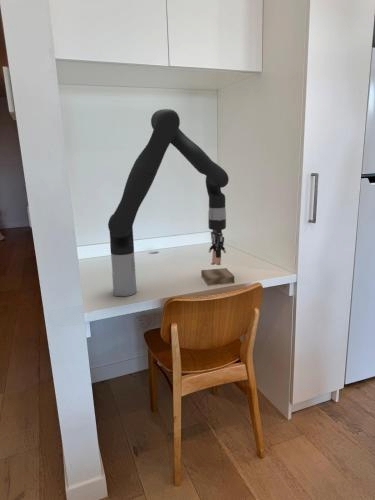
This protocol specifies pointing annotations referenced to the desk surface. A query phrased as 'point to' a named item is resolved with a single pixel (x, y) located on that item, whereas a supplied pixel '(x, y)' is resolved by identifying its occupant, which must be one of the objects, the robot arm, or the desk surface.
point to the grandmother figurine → (214, 259)
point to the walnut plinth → (217, 276)
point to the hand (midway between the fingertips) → (217, 256)
